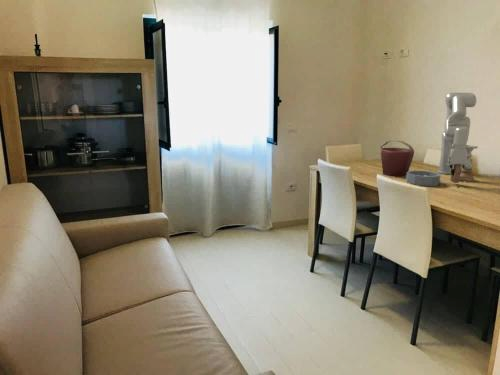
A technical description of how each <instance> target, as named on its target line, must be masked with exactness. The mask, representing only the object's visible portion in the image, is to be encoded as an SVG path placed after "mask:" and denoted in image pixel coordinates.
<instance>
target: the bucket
mask: <svg viewBox="0 0 500 375" xmlns="http://www.w3.org/2000/svg"><path fill="white" fill-rule="evenodd" d="M390 142H397V143H401V144H403V145H405V146H406V147H408V148H405V147H383V146H386V145H387V144H389V143H390ZM380 149H381V150H380V157H381V167H382V175H383V176H388V177H394V178H395V177H396V178H397V177H398V178H402V177H403V178H404V177H406V174H407V172H408V171H410V169H411V165H412V162H413V158H414V155H415V150H414V148H413V147H412V145H410V144H409V143H408V142H405V141H403V140H386V141H385V142H384V143H382V144H381V145H380Z"/></svg>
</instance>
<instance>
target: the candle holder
mask: <svg viewBox="0 0 500 375" xmlns="http://www.w3.org/2000/svg"><path fill="white" fill-rule="evenodd" d="M467 145H468V144H467ZM475 149H478V146H477V145H468V147H467V148H466V150H467V164H468V165H467V166H465V167H464V168H462V169H461V174H460V178H459V182H460V181H465V182H464V183H470V182H473V183H474V180H475V177H474V175H472V174H471V169H473V162H472V160H471V158H472V157H473V154H472V152H473V151H474V150H475Z"/></svg>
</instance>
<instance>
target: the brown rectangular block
mask: <svg viewBox="0 0 500 375" xmlns="http://www.w3.org/2000/svg"><path fill="white" fill-rule="evenodd" d="M454 169H455V172H454V175H451V174H450V181H451V182H452V183H454V184H459V182H460V181H459V178H460V171H461V164H456V165H455V167H454Z"/></svg>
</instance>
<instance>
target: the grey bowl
mask: <svg viewBox="0 0 500 375" xmlns="http://www.w3.org/2000/svg"><path fill="white" fill-rule="evenodd" d="M405 177H406V178H405V181H406V183H407V184H409V183H410V185H412V184H413V185H412V186H417V185H418V186H420V187H438V186H439V185H440V181H441V173H437V172H434V171H430V170H429V171H428V170H416V169H415V170H409V171H408V172H407V174H406V176H405Z"/></svg>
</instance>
